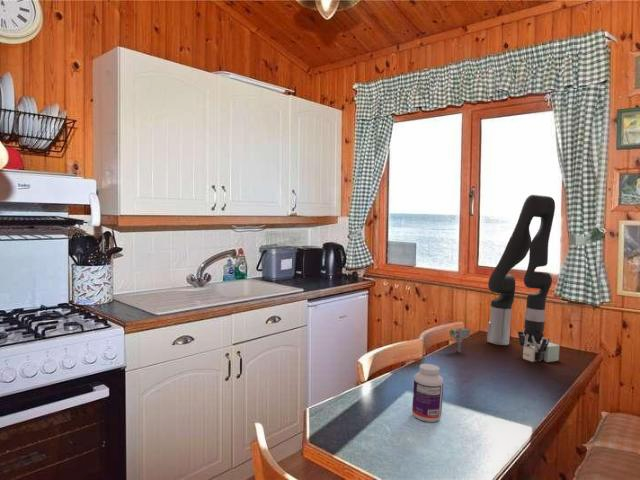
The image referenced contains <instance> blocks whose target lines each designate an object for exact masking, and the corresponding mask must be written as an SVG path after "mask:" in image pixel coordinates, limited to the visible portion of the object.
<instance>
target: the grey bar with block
mask: <svg viewBox="0 0 640 480" xmlns="http://www.w3.org/2000/svg"><path fill="white" fill-rule="evenodd" d="M522 351H523V352H522V359H523V360H526V361H528V362H531V363H533V362H536V361H535V352H536V351H535V347H534V346H527V347H523V350H522ZM544 356H545V352H541V358H540V360H539V361H538V362H541V361H542V360H543V361H544Z"/></svg>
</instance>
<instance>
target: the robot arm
mask: <svg viewBox="0 0 640 480" xmlns="http://www.w3.org/2000/svg"><path fill="white" fill-rule="evenodd" d="M555 211H556V203H555V200H554V198H553V197H551V196H550V195H549V196H547V195H540V194H539V195H538V194H530V195H528V196H527V197H526V199H525V201H524V202H523V205H522V208H521V210H520V213H519V217H518V220H517V222H516V225H515V227H514V229H513V231H512V234H511V236H510V238H509V239H508V242H507V244H506V246H505V247H504V248H505V249H504V251H503V253H502V254H501V257H500V259H499V262H498V263H497V265H496V267H495V268H494V270H493V271H492V273H491V275H490V277H489V279H488V285H487V286H488V290H489V291H490V292H491V293H495V294H500V295H499V296H497V297H496V298H494V299H492V300H491V301H490V310H489V311H490V312H489V313H490V314H489V322H488V325H487V337H486V339H487V340H486V342H487V343H490V344H492V345H496V346H509V344H510V337H511V336H510V333H511V323H512V322H511V321H512V320H511V319H512V308H513V307H512V306H513V304H514V300H515V293H516V279H515V277H514V275H512V274H510V273H509V272H510V271H511V270H512V269H513V268H515V266H517V265H518V264H519V263H521V262H522V261H523V260H524V259H525V258H526V257H527V255H529V256H528V258H529V259H528V265H527V268H526V272H525V273H524V277H523V284H524V286H525V287H526V288H528V289H536V290H537V289H538V290H539V291H538V292H535V293H534V292H533V293H529V294H527V297H526V308H525V313H524V325H523V329H524V331H523V330H522V331H521V330H520V331H518V332H517V334H518V340H519V345H520V346H521V347H523V348H524V347H527V346H530V345H531V343H533V345H534V347H535V351H536V352H535V361H534V362H540V361H541V360H540V358H541V352H545V351H546V349H547V346H548V344H549V342H550V339H549V338H546V337H544V336H545V335H544V330H545V322H546V321H545V320H546V300H547V297H548V294H549V291H550V289H551V286H552V283H553V277H552V275H551V274H550V273H549V272H545V271H535V270H536V269H537V268H540V267H541V268H542V267H545V266H547V265H548V263H549V262H548V261H549V243H550V242H549V241H550V235H551V230H552V228H553V227H552V226H553V222H554V216H555ZM534 218H540V225H539V229H538V230H537V232H536V233H535V235H534V237H533V239H532V237H531V232H530V225H531V223H532V220H533V219H534ZM528 253H529V254H528ZM541 340H542V341H541ZM541 342H542V344H541ZM537 343H538V344H537ZM539 360H540V361H539Z"/></svg>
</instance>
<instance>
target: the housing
mask: <svg viewBox="0 0 640 480" xmlns="http://www.w3.org/2000/svg"><path fill="white" fill-rule="evenodd" d="M541 341H542V340H541ZM537 344H538V343H537ZM541 344H542V342H541ZM530 346H534V345H533V343H531V345H530ZM559 356H560V345H559V344H556V343H553V342H550V341H549V344H548V346H547V349H546V351H545V356H544V359H543V361H544V362H545V363H549V362H550V363H551V362H558V361H559V360H560V357H559Z"/></svg>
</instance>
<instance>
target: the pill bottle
mask: <svg viewBox="0 0 640 480" xmlns="http://www.w3.org/2000/svg"><path fill="white" fill-rule="evenodd" d="M418 369H419V371H418V372H417V373H415V374H414V378H413V394H412V404H411V405H412V408H411V413H412V416H413V417H414V418H415V419H417V420H420V421H423V422H427V423H435V422H437V421H440V419H441V418H442V409H443V397H444V395H443V394H444V393H443V392H444V378H443V377H442V375H440V370H441V369H440V366H438V365H435V364H432V363H421V364H419V368H418Z"/></svg>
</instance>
